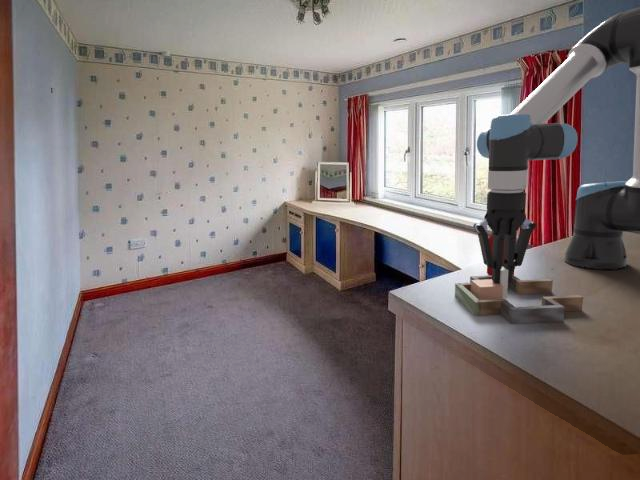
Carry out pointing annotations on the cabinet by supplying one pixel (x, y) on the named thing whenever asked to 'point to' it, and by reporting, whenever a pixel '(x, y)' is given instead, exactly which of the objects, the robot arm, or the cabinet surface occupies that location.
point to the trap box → (546, 312)
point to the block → (486, 289)
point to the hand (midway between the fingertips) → (500, 296)
